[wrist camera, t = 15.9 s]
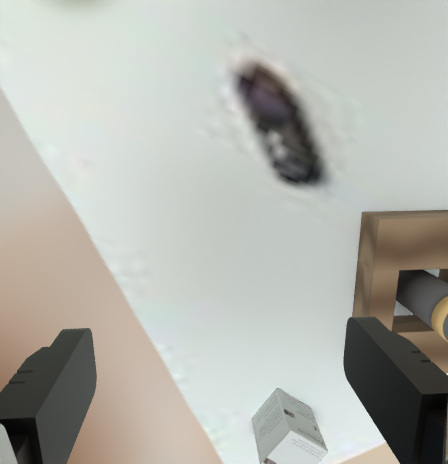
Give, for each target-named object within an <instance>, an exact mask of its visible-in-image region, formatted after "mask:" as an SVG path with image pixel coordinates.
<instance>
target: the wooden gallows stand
mask: <svg viewBox="0 0 448 464" xmlns="http://www.w3.org/2000/svg"><path fill="white" fill-rule="evenodd" d="M420 269H440V273H439V279H441V280H443V281H444V282H446V283H448V210H434V211H390V212H362V221H361V232H360V242H359V253H358V263H357V274H356V285H355V295H354V306H353V316H352V317H367V316H374V317H376V318H377V319H378V320H379V321H380V322H381V323H382V324H383V325H384V326H385V327H387V328H388V329H389V330H390V331H394V332H396V333H398V334H399V335H401V336H403V337H405V338H407V339H409V340H410V341H411V342H412V343H413V344H414V345H415V346H416V347H418V348H419V349H420V350H421V353H424V354H425V355H426V356H427V357H428V358H429V359H430V360H431V362H434V363H435V364H436V365H437V366H438V367H439V368H440V369H441V370H442V371H443V372H444V373H448V342H447V341H446V340H445V339H443V338H442V337H441V336H440V335H438V334H437V333H436V332H435V331H434V329H432V328H431V327H430V326H428V325H427V324H426V323H425V322H423V321H422V320H421V319H420V318H418V317H417V316H416V315H408V316H393V315H394V308H395V300H396V292H397V284H398V276H399V270H420Z"/></svg>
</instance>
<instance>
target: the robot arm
mask: <svg viewBox="0 0 448 464" xmlns="http://www.w3.org/2000/svg"><path fill="white" fill-rule="evenodd" d="M343 362H344V371H345V375H346V378H347V380H348V382H349V384H350V385H351V387H352V388H353V390H354V392H355V393H356V395H357V396H358V398H359V399H360V401H361V403H362V404H363V406H364V407H365V409H366V410H367V412H368V414H369V415H370V417H371V418H372V420H373V422H374V423H375V425H376V426H377V428H378V429H379V431H380V433H381V434H382V436H383V437H384V439H385V440H386V442H387V444H388V445H389V447H390V448H391V450H392V452H393V453H394V455H395V456H396V458H397V459H398V461H399V462H400V464H448V375H447V374H445V373H444V372H443V371H442V370H441V369H440V368H439V367H438V366H437V365H436V364H435V363H434V362H431V360H430V359H429V358H428V357H427V356H426V355H425V354H424V353H421V350H420V349H419V348H418V347H416V346H415V345H414V344H413V343H412V342H411V341H410V340H409V339H407V338H405V337H403V336H401V335H399V334H398V333H396V332H394V331H390V330H389V329H388V328H387V327H385V326H384V325H383V324H382V323H381V322H380V321H379V320H378V319H377V318H376V317H374V316H367V317H350V318H349V319H348V322H347V328H346V339H345V349H344V361H343ZM96 378H97V376H96V365H95V356H94V347H93V338H92V332H91V330H90V329H89V328H82V329H63V330H62V331H61V332H60V334H59V335H58V336H57V338H56V339H55V340H54V342H53V343H52V345H51V346H50V347H42V348H41V349H40V350H38V351H37V352H35V353H34V354H32V355H31V356H30V357H28V358H27V359H26V360H25V362H24V363H23V364H22V365H21V367H20V368H19V369H18V371H17V373H16V374H14V376H13V377H12V379H10V381H9V384H8V385H6V386H5V387H4V388H3V390H2V391H1V392H0V464H66V463H67V461H68V458H69V456H70V453H71V451H72V448H73V446H74V443H75V441H76V438H77V436H78V433H79V431H80V428H81V426H82V423H83V421H84V418H85V416H86V414H87V411H88V409H89V406H90V404H91V401H92V398H93V396H94V393H95V388H96Z"/></svg>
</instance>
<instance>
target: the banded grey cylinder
mask: <svg viewBox="0 0 448 464" xmlns="http://www.w3.org/2000/svg"><path fill="white" fill-rule="evenodd" d="M396 300H397V301H398V302H399V303H401V304H402V305H403V306H404V307H406V308H407V309H408V310H410V311H411V312H412V313H413V314H415V315H416V316H417V317H418V318H420V319H421V320H422V321H423V322H425V323H426V324H427V325H428V326H430V327H431V328H432V329H434V331H435V332H436V333H437V334H438V335H440V336H441V337H442V338H443V339H445V340H446V341H447V342H448V283H446V282H444V281H443V280H441V279H439V278H437V277H435V276H434V275H432V274H430V273H428V272H427V271H425V270H423V269H420V270H399V276H398V284H397V292H396Z"/></svg>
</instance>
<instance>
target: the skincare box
mask: <svg viewBox="0 0 448 464" xmlns="http://www.w3.org/2000/svg"><path fill="white" fill-rule="evenodd" d="M252 422H253V428H254V433H255V439H256V444H257V450H258V455H259V461H260V464H317V463H318V462H319V461H320V460H321V459H322V458H323V457H324V456H325V455H326V454H327V452H328V450H327V448H326V445H325V443H324V440H323V438H322V435H321V433H320V430H319V428H318V426H317V423H316V421H315V418H314V416H313V413H312V411H311V408H310V407H308V406H307V405H305V404H303V403H301V402H299V401H297V400H296V399H294V398H292V397H291V396H289V395H288V394H286V393H285V392H283V391H282V390H280V389H276V390H275V391H274V393H273V394H272V395H271V396H270V397H269V399H268V400H267V401H266V402H265V403H264V405H263V406H262V407H261V408H260V409H259V411H258V412H257V413H256V414H255V415H254V417H253V418H252Z"/></svg>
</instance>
